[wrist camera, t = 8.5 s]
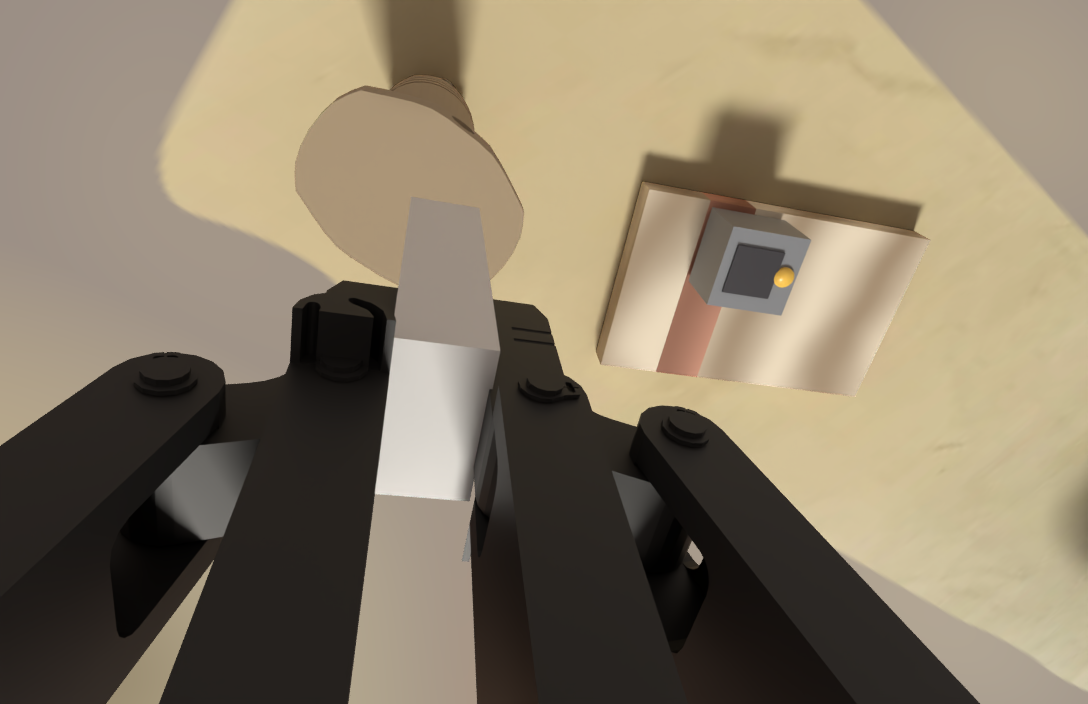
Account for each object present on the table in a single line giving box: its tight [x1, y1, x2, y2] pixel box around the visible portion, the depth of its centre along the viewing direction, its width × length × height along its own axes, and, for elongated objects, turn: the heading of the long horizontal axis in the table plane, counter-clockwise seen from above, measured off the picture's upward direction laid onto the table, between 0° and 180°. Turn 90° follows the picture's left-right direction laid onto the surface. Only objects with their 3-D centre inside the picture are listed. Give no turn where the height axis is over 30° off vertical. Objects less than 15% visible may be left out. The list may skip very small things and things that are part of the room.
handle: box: [295, 75, 524, 285], centre depth 26 cm, size 5×6×15 cm
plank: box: [596, 181, 930, 397], centre depth 38 cm, size 16×10×2 cm, turn 78°
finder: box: [689, 207, 811, 316], centre depth 34 cm, size 4×4×3 cm
